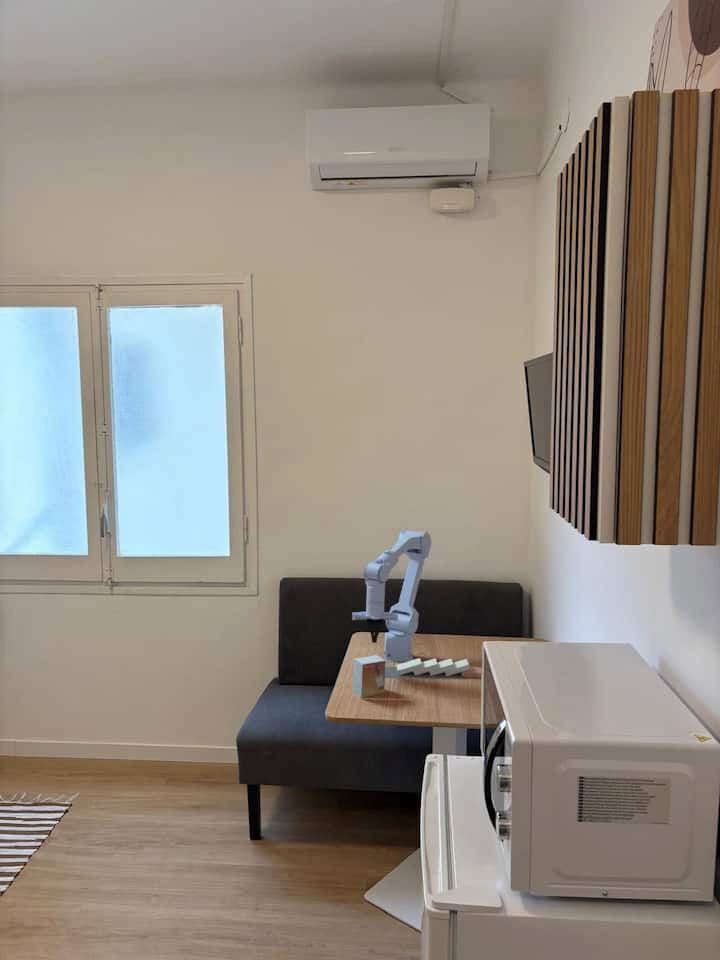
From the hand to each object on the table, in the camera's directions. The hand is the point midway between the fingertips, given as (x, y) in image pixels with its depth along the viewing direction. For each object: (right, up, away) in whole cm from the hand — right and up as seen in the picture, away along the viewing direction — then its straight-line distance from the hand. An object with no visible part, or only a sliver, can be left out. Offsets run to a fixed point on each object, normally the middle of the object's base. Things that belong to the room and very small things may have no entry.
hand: (374, 641), depth 219 cm
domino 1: (+8, -9, +1) cm, 12 cm away
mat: (+15, -11, +1) cm, 19 cm away
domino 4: (+23, -10, +1) cm, 25 cm away
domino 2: (+13, -10, +1) cm, 16 cm away
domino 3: (+18, -10, +1) cm, 20 cm away
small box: (-2, -12, -15) cm, 19 cm away
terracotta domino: (+28, -10, +1) cm, 30 cm away
